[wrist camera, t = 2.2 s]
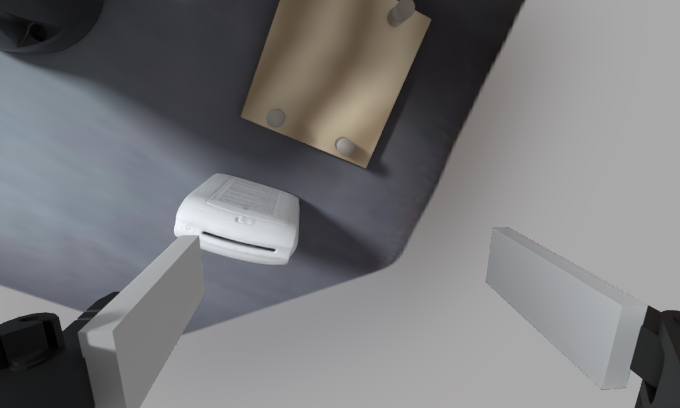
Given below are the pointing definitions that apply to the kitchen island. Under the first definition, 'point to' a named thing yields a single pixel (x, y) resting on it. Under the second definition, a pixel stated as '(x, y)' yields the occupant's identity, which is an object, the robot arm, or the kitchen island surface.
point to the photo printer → (241, 219)
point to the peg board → (335, 72)
